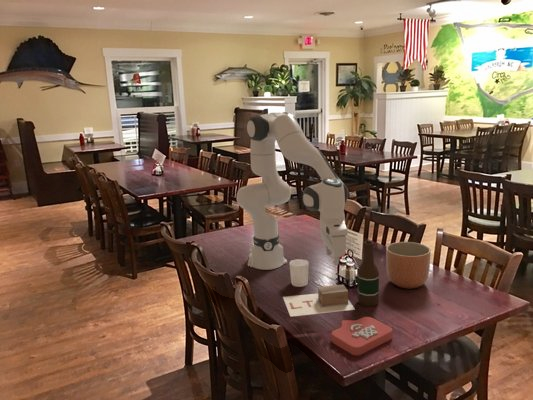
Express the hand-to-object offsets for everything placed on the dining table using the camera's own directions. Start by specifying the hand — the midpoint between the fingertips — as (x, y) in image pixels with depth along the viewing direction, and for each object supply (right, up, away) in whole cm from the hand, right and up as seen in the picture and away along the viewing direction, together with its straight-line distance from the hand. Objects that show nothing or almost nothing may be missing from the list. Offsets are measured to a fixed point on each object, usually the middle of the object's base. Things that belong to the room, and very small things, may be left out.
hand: (332, 259), depth 168 cm
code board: (-5, -18, +3) cm, 19 cm away
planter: (+33, -13, +18) cm, 40 cm away
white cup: (-11, -14, +21) cm, 27 cm away
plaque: (+6, -24, -19) cm, 31 cm away
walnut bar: (+1, -16, +4) cm, 17 cm away
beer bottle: (+14, -17, +4) cm, 22 cm away
